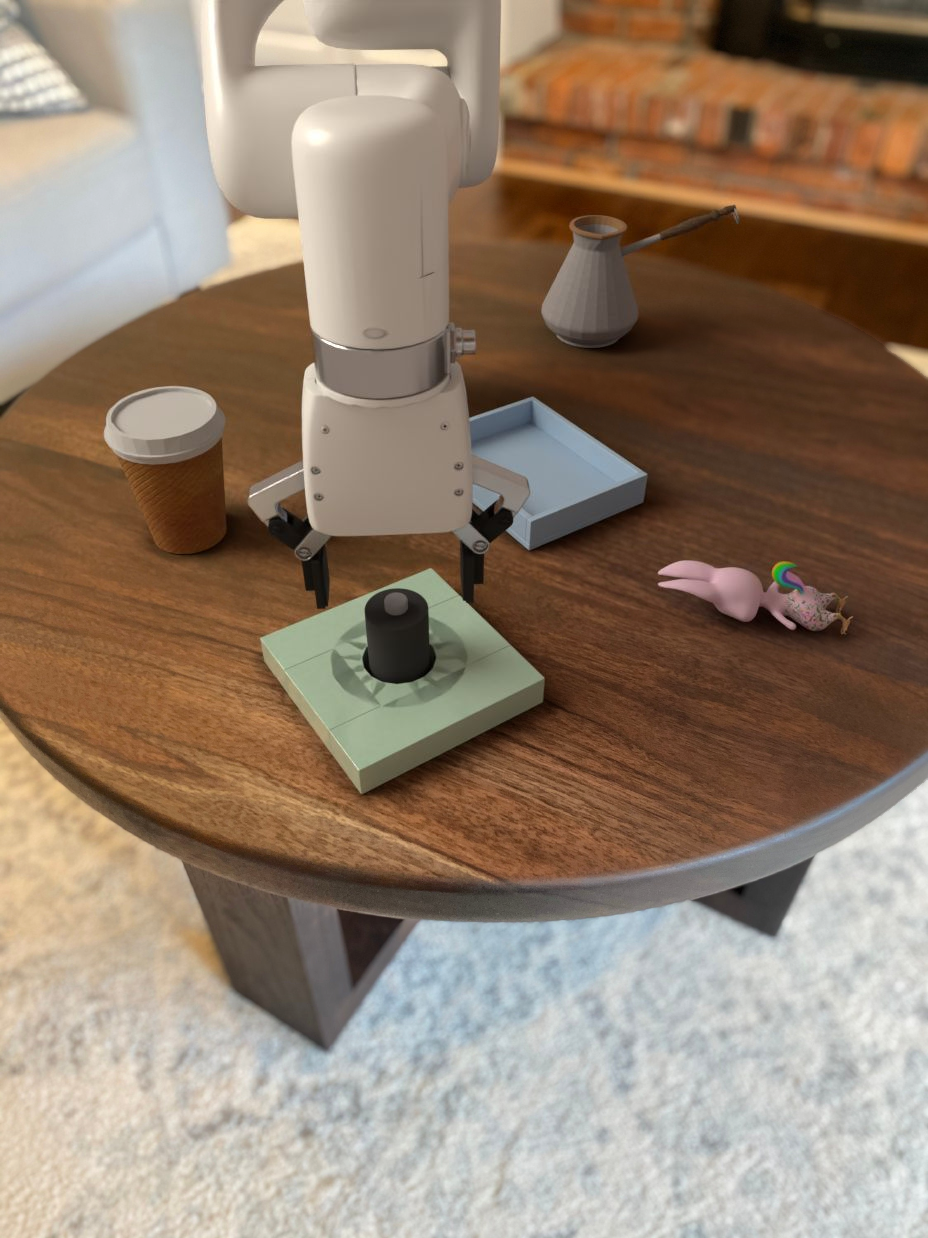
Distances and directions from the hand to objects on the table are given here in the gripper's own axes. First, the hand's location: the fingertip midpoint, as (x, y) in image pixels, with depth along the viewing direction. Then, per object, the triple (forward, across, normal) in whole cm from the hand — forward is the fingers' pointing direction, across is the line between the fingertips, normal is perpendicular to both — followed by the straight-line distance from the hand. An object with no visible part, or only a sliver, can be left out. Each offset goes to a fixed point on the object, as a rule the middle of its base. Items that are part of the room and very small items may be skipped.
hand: (395, 592), depth 63 cm
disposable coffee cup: (+9, +18, -20) cm, 29 cm away
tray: (+8, -13, -26) cm, 31 cm away
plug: (+9, 0, -1) cm, 9 cm away
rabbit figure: (+9, -28, -6) cm, 30 cm away
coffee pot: (+8, -28, -57) cm, 65 cm away
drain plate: (+9, 0, -1) cm, 9 cm away
